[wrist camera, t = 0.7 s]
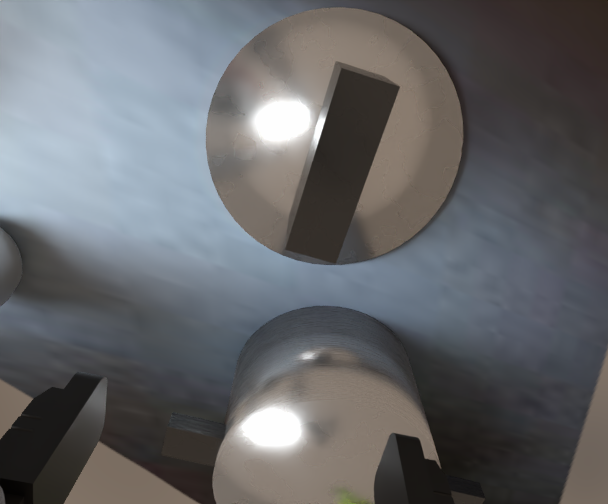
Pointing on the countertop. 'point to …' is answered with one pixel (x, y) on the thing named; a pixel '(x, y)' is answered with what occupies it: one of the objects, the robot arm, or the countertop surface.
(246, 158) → the cooker lid
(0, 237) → the plastic bottle
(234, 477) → the cooker pot
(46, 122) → the countertop surface
